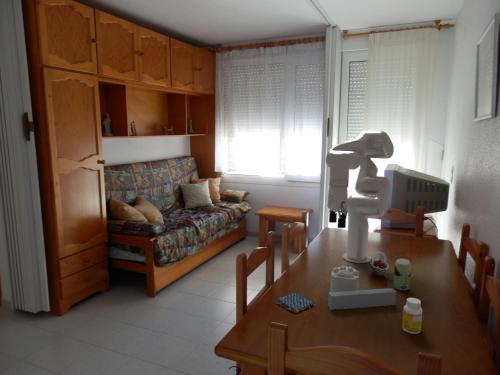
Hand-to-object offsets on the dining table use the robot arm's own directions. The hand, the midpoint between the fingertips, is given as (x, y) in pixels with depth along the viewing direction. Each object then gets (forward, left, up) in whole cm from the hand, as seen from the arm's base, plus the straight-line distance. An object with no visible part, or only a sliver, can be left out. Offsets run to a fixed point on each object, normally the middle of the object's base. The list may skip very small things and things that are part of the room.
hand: (337, 224), depth 151 cm
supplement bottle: (+42, +8, -23) cm, 49 cm away
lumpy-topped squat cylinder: (+11, 0, -23) cm, 26 cm away
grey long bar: (+24, 0, -23) cm, 34 cm away
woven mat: (+20, -23, -24) cm, 39 cm away
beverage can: (+14, +22, -23) cm, 35 cm away
